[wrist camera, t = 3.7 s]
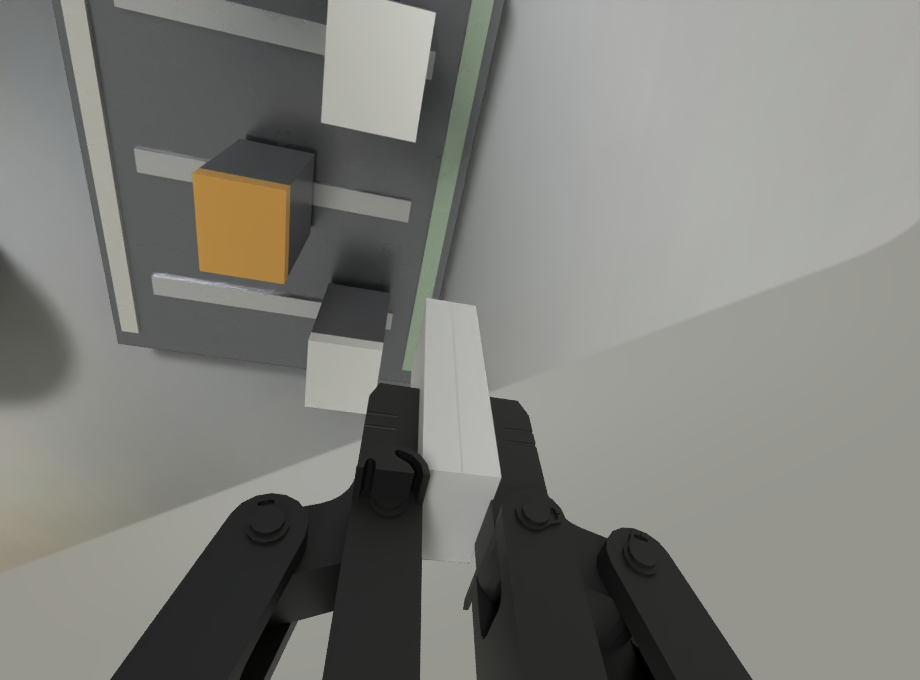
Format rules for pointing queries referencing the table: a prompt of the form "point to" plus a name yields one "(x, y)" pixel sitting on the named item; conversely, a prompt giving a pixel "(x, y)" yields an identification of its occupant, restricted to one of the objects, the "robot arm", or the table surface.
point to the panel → (274, 123)
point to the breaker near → (376, 66)
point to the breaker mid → (253, 210)
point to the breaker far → (346, 349)
